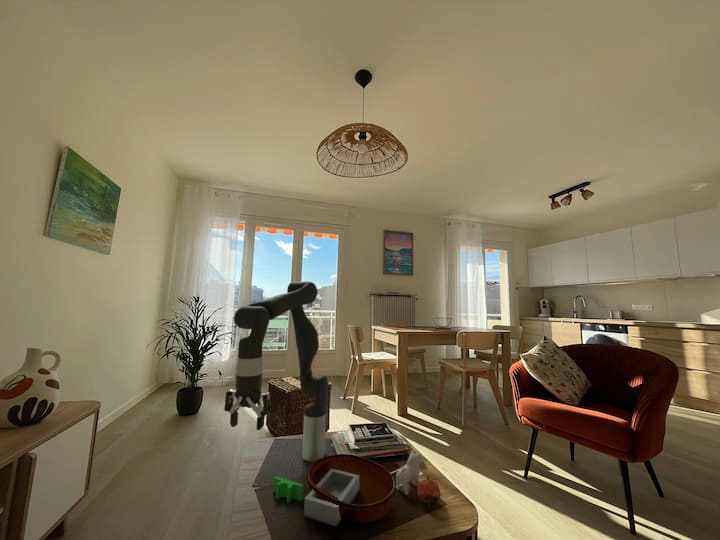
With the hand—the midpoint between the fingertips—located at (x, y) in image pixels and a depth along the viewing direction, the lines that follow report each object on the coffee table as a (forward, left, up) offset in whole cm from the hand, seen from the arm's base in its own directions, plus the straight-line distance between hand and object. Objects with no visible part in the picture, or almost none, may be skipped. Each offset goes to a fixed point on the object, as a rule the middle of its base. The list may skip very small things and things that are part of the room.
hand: (246, 427), depth 89 cm
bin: (-20, +20, -27) cm, 39 cm away
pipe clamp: (-16, +4, -28) cm, 32 cm away
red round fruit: (-32, +49, -27) cm, 64 cm away
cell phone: (-43, +37, -28) cm, 63 cm away
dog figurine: (-39, +41, -27) cm, 63 cm away
